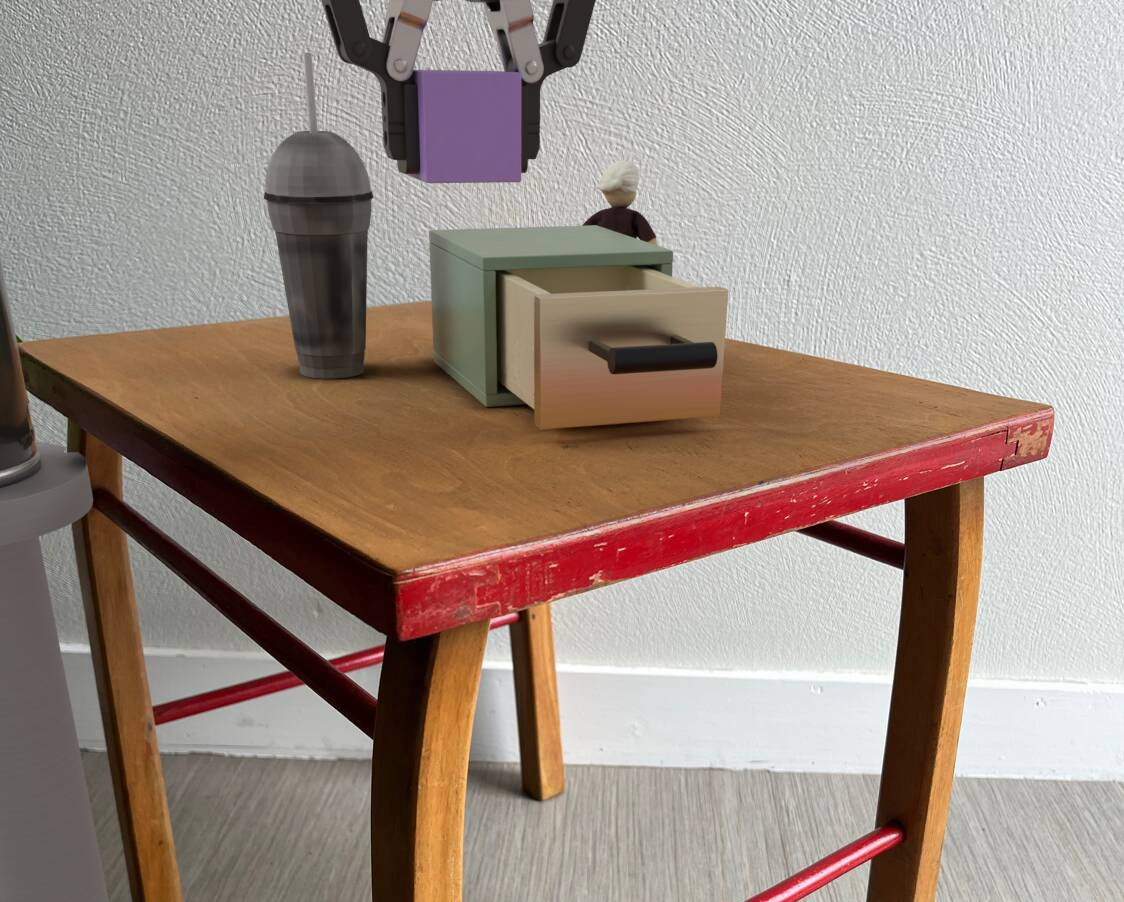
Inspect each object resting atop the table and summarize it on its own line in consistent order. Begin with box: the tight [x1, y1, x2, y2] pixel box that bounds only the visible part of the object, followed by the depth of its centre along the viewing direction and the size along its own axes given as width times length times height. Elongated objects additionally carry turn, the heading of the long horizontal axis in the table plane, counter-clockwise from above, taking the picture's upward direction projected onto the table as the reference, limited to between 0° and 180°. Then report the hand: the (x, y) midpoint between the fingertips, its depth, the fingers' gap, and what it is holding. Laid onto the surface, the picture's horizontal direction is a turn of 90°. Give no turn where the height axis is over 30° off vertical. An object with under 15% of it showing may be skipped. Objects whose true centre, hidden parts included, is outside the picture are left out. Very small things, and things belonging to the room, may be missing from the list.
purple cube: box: [405, 69, 522, 184], centre depth 60 cm, size 4×4×4 cm
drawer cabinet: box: [428, 225, 674, 408], centre depth 88 cm, size 15×13×9 cm
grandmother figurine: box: [581, 159, 659, 246], centre depth 106 cm, size 8×4×13 cm, turn 77°
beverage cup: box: [263, 52, 374, 380], centre depth 87 cm, size 7×7×20 cm
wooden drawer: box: [495, 265, 729, 431], centre depth 78 cm, size 18×11×7 cm, turn 18°
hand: (461, 170), depth 61 cm, fingers closed on purple cube, 4 cm apart
